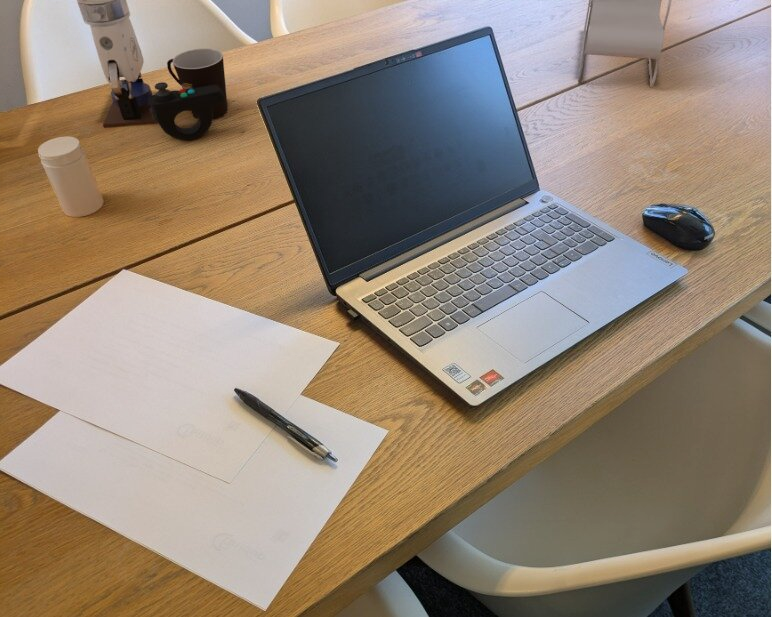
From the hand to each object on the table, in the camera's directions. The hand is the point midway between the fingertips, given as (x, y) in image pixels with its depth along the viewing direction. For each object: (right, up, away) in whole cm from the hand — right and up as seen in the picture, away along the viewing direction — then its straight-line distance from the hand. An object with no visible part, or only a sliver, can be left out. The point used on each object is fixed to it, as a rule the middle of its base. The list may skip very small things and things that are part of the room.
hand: (135, 108), depth 121 cm
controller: (+13, -7, -7) cm, 16 cm away
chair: (+92, +12, +9) cm, 93 cm away
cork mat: (0, -1, +1) cm, 1 cm away
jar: (0, -21, -21) cm, 30 cm away
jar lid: (0, +2, -2) cm, 3 cm away
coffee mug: (+13, 0, +1) cm, 13 cm away
